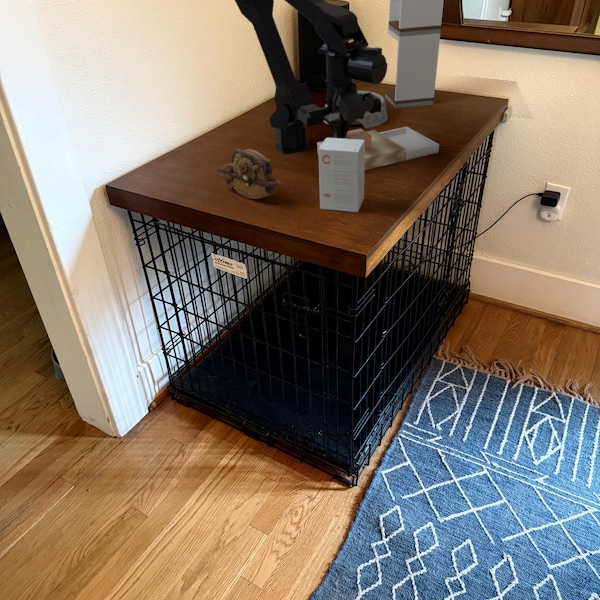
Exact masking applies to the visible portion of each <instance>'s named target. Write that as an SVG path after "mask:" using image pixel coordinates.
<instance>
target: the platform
mask: <svg viewBox="0 0 600 600" xmlns="http://www.w3.org/2000/svg"><path fill="white" fill-rule="evenodd" d="M366 132H367V133H369V134H370V135H371V148H367V149H365V167H364V171H367V170H371V169H376V168H380V167H383V166H387V165H391V164H395V163H400V162H405V160H404V157H405V148H403V147H402V146H400V145H398V144H397V143H395V142H393V141H392V140H390V139H389V138H387V137H385V136H384V135H382V134H380V133H379V132H378V131H377V130H376V129H372V130H367V131H366ZM323 142H324V140H321V141H318V142H316V145H317V146H316V148H317V150H316V151H317V155H318V156H319V153H318V149H319V147H320V146H321V145H322V143H323Z"/></svg>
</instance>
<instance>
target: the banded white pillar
mask: <svg viewBox="0 0 600 600" xmlns="http://www.w3.org/2000/svg"><path fill="white" fill-rule="evenodd" d="M388 7H389V8H388V10H389V11H388V27H387V29H388V30H387V34H388V35H389V36H391V37H392V38H393V39H394V40H396V41H397V56H396V57H397V58H396V70H395V71H396V76H395V88H394V89H385V90H384V91H385V93H384V97H385V99H386V100H387V101H388V102H389V103H390V105H392V107H393V108H395V109H400V108H401V109H404V108H411V107H421V106H432V105H434V102H435V101H434V100H435V90H436V82H437V80H436V79H437V70H438V61H439V60H438V59H439V50H440V40H441V39H440V38H441V30H442V19H443V13H444V12H443V11H444V9H443V8H444V0H389V6H388Z"/></svg>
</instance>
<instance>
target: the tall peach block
mask: <svg viewBox="0 0 600 600" xmlns="http://www.w3.org/2000/svg"><path fill="white" fill-rule="evenodd" d="M345 139H358V140H365V149H367V148H371V135H370V134H369V133H367V131H366V130H363V129H362V128H357V129H353V130H348V132H347V135H346V138H345Z"/></svg>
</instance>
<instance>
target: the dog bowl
mask: <svg viewBox="0 0 600 600" xmlns="http://www.w3.org/2000/svg"><path fill="white" fill-rule="evenodd" d="M357 93H358V94H364V93H371V94H372V95H374V96H376V97H378V98H379V99H380V100H381V102H382V110H381V112H376V113H369V112H368V111H367V112H365V116H364V118H363V119H358V120H355V121H354V122H353V123H352V124H351V125H352V126H353V125H357V126H358V125H362V126H363V128H364V129H371V128H374V127H378V126H381V125H383V124H384V123H385V122H387V120H388V118H389V116H388V112H387V107H386V101H385V98H384V96H382V95H381V94H379V93H376V92H373V91H368V90H357ZM324 104H325V103H324ZM324 107H327V104H325V105H324ZM323 123H324V124H327V125H328V123H327V122H326V121H323Z"/></svg>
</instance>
